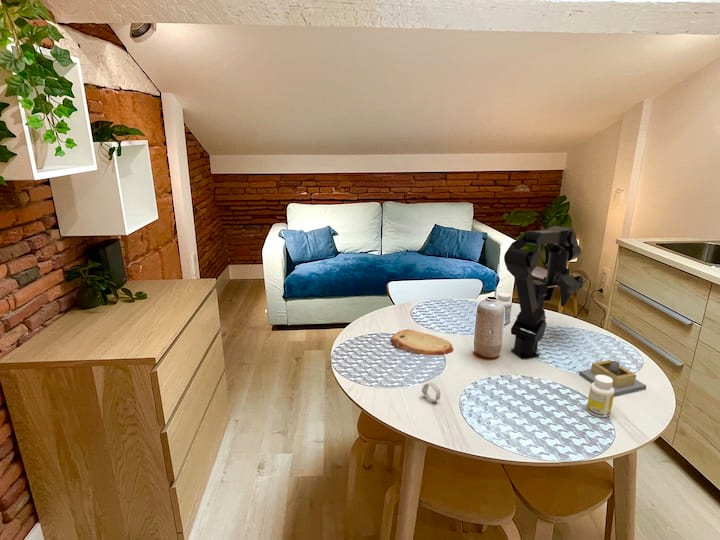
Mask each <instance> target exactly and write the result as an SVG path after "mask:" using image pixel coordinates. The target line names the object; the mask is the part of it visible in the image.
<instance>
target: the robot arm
mask: <svg viewBox="0 0 720 540" xmlns="http://www.w3.org/2000/svg"><path fill="white" fill-rule="evenodd" d="M549 244H552V246H551V247H549V248H548V250H547V252H548V253H549V254H548V255H549V256H548V262H547V264H546V265H544V269H545V270H547V272H546V276H544V277H543V281H544V282H543V281H541V280H539V279H534V280H533V272H534V270H535V269H536V267H537V263H538V262H539V260H540V259H541V257H542V254H541V253H542V252H541V251H542V250H541V247H542V245H549ZM527 245H533V246H535V248H536V249H535V250H534V251H532V250H525V249H523V248H525V247H526V246H527ZM581 254H582V250H581V247H580V245H579V241H578V238H577V233H576V232H575V229H574V228H571V227H565V226H559V225H552V226H550V227H548V229H545V230H530V229H529V230H526V231H524V233H523V235H522V236H521V237H520V238H517V239H516V240H515V241H513V242H511V244H510V245H509V247H508V248H507V250H506V251H505V253H504V256H503V260H504V264H505V266H506V267H505V268H506V270H507V271H508V273H510V274H511V275H512V277H514V282H515V286H516V293H517V297H518V298H517V299H518V303H519V308H520V311H519V313H518V314H517V315H516V318H515V321H514V323H513V325H512V326H511V328H510V334H511V335H512V336H513V335H514V336H515V338H514V344H513V345H514V347H513V348H510V351H511V352H512V353H513V354H515V355H516V356H517V357H518V358H520V359H521V360H527V359H532V358H536V357H537V358H538V357H539V356H540V355H539V353H538V352H537V351H538V345H539V341H541V340H543V337H544V335H545V331H546V328H547V320H546V319H547V317H546V311H545V309H544V303H545V302H544V301H545V297H546V296H547V295H548V291H549V289H551V288H558V287H559V290H560V292H559V293H560V294H559V296H560V298H559V302H560V307H562V308H565V306H566V304H567V302H568V300H569V299H570V297H571V295H572V294H573V293H575V292H578V291H579V290H580V289H583V286H584V277H583V276H581V275H576V276H575V275H571V274H570V273H571V271H570V268H568V263H569V262H571V261H573V260H575V259H577V258H579V257H580V256H581Z"/></svg>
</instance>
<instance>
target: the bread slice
mask: <svg viewBox="0 0 720 540" xmlns="http://www.w3.org/2000/svg"><path fill="white" fill-rule="evenodd" d="M390 339H391V340H389V343H390V342H391V343H392V344H391V343H390V344H391V345H393V346H394V347H395V348H396V347H397V348H396V349H398V348H399V350H400V349H401V351H402V350H403V352H405V353H409V352H410V354H413V353H414V355H415V354H416V355H421V354H423V355H422V356H429V355H439V356H445V355H444V354H446V355H448V353H449V354H451V353H453V352H454V348H453V346H452V343H451V342H450V341H449V340H447V339H444V338H443V337H439V336H437V335H436V336H435V335H432V334H429V333H425V332H421V331H417V330H413V329H409V328H408V329H403V330H400V331H399V330H398V332H396V333H394V334H393V335H392V336H391V338H390Z"/></svg>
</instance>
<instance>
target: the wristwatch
mask: <svg viewBox="0 0 720 540" xmlns="http://www.w3.org/2000/svg"><path fill="white" fill-rule="evenodd" d="M430 387H431V388H432V389H433V390H434V391H435V393H436V396H435V399H434V398H432V397H431V396H430V395H429V393H428V390H429V388H430ZM421 392H422V394H423V395H424V398H425V399H426V400H427V401H428V402H431V403H436V402H437V401H439V400H440V399H441V390H440V388H439V386H437V385H436V384H435V383H434V382H432V381H429V382H427V383H425V384H424V385H422V388H421Z"/></svg>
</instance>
